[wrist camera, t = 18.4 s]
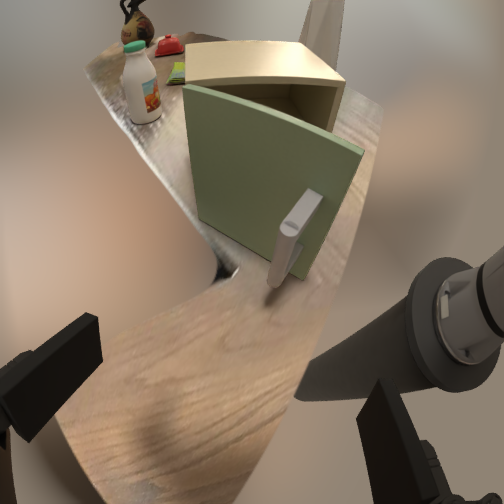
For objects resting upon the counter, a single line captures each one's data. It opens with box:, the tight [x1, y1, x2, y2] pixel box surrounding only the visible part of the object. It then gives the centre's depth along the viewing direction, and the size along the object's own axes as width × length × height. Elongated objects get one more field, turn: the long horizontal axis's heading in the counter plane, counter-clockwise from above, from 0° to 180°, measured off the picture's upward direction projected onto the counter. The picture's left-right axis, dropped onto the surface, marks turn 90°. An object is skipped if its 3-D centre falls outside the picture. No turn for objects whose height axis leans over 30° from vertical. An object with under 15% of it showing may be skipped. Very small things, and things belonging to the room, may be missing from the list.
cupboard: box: [185, 41, 346, 133], centre depth 38 cm, size 16×18×22 cm
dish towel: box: [166, 62, 185, 85], centre depth 70 cm, size 18×24×3 cm
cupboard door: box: [182, 84, 365, 288], centre depth 29 cm, size 7×18×22 cm, turn 56°
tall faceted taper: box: [298, 0, 344, 72], centre depth 51 cm, size 12×12×33 cm
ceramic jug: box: [120, 0, 154, 48], centre depth 78 cm, size 17×15×30 cm
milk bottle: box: [123, 40, 162, 124], centre depth 48 cm, size 8×8×20 cm
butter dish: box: [155, 35, 184, 56], centre depth 80 cm, size 12×12×8 cm
